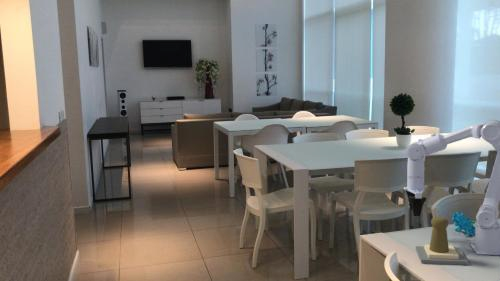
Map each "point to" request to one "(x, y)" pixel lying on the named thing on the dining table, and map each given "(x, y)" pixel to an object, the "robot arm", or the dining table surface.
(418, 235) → the dining table surface
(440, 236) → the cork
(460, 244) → the dining table surface
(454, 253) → the grey flat slab
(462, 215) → the blue lumpy cluster
